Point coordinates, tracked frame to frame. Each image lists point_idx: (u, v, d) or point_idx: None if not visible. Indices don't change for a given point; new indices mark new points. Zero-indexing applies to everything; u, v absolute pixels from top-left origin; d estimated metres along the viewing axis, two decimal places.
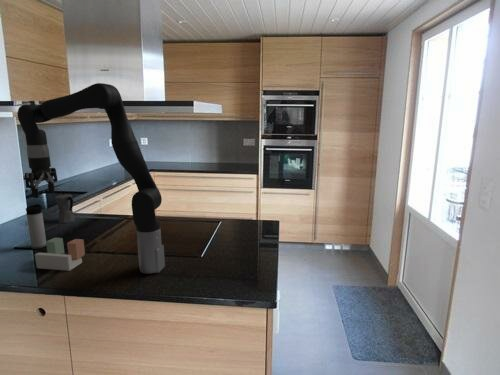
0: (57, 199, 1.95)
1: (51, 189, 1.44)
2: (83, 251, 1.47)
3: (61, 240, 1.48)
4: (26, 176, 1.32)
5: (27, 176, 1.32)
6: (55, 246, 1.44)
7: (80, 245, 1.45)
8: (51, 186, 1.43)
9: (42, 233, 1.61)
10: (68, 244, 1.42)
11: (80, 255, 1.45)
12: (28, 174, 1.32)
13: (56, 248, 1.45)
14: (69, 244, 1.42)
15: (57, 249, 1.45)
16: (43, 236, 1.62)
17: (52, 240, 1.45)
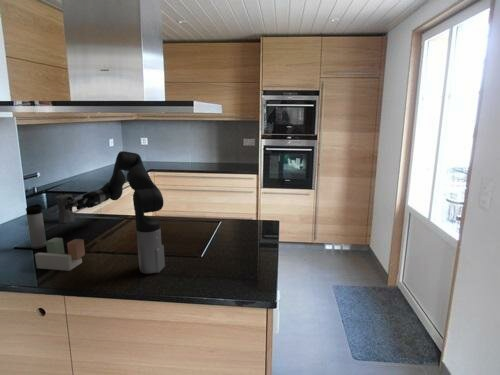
0: (57, 199, 1.95)
1: None
2: (83, 251, 1.47)
3: (61, 240, 1.48)
4: None
5: None
6: (55, 246, 1.44)
7: (80, 245, 1.45)
8: None
9: (42, 233, 1.61)
10: (68, 244, 1.42)
11: (80, 255, 1.45)
12: None
13: (56, 248, 1.45)
14: (69, 244, 1.42)
15: (57, 249, 1.45)
16: (43, 236, 1.62)
17: (52, 240, 1.45)
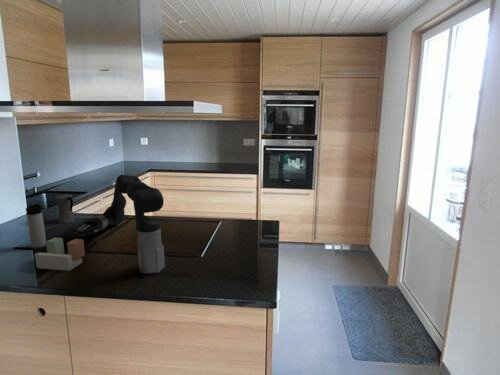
0: (57, 199, 1.95)
1: None
2: (83, 251, 1.47)
3: (61, 240, 1.48)
4: None
5: None
6: (55, 246, 1.44)
7: (80, 245, 1.45)
8: None
9: (42, 233, 1.61)
10: (68, 244, 1.42)
11: (80, 255, 1.45)
12: None
13: (56, 248, 1.45)
14: (69, 244, 1.42)
15: (57, 249, 1.45)
16: (43, 236, 1.62)
17: (52, 240, 1.45)
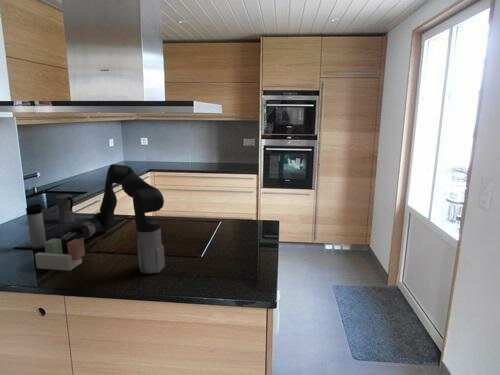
0: (57, 199, 1.95)
1: None
2: (83, 251, 1.47)
3: (59, 241, 1.46)
4: None
5: None
6: (54, 247, 1.43)
7: (80, 245, 1.45)
8: None
9: (42, 233, 1.61)
10: (68, 244, 1.42)
11: (80, 255, 1.45)
12: None
13: (54, 249, 1.44)
14: (69, 244, 1.42)
15: (55, 250, 1.44)
16: (43, 236, 1.62)
17: (50, 241, 1.44)
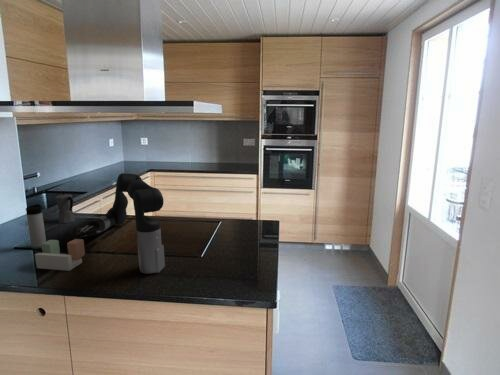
0: (57, 199, 1.95)
1: None
2: (83, 251, 1.47)
3: (57, 242, 1.45)
4: None
5: None
6: (51, 248, 1.42)
7: (80, 245, 1.45)
8: None
9: (42, 233, 1.61)
10: (68, 244, 1.42)
11: (80, 255, 1.45)
12: None
13: (52, 250, 1.42)
14: (69, 244, 1.42)
15: (52, 251, 1.43)
16: (43, 236, 1.62)
17: (48, 242, 1.43)
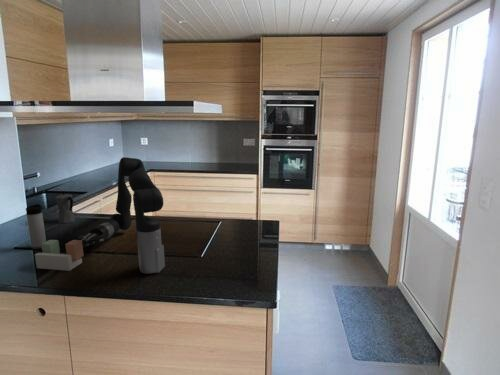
0: (57, 199, 1.95)
1: None
2: (81, 252, 1.46)
3: (57, 242, 1.45)
4: None
5: None
6: (51, 248, 1.42)
7: (78, 246, 1.44)
8: None
9: (42, 233, 1.61)
10: (67, 244, 1.41)
11: (78, 256, 1.44)
12: None
13: (52, 250, 1.42)
14: (67, 245, 1.41)
15: (52, 251, 1.43)
16: (43, 236, 1.62)
17: (48, 242, 1.43)
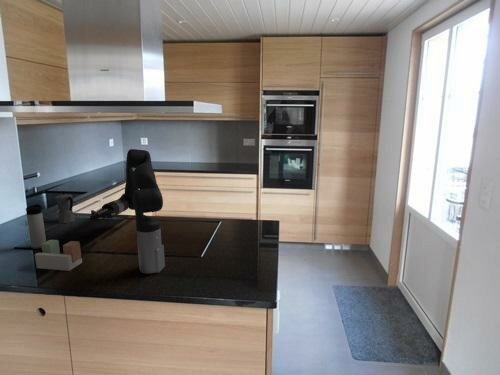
0: (57, 199, 1.95)
1: None
2: (79, 253, 1.44)
3: (57, 242, 1.45)
4: (91, 214, 1.63)
5: (91, 213, 1.63)
6: (51, 248, 1.42)
7: (76, 247, 1.42)
8: None
9: (42, 233, 1.61)
10: (64, 246, 1.40)
11: (76, 257, 1.42)
12: (91, 212, 1.64)
13: (52, 250, 1.42)
14: (65, 246, 1.40)
15: (52, 251, 1.43)
16: (43, 236, 1.62)
17: (48, 242, 1.43)
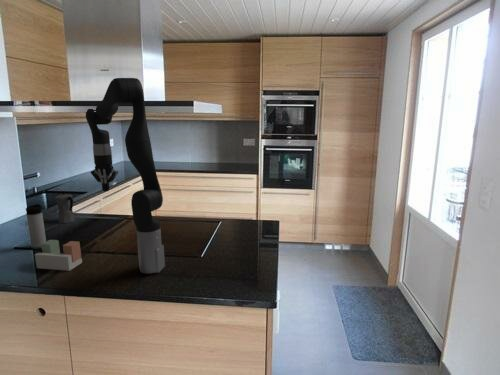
0: (57, 199, 1.95)
1: None
2: (79, 253, 1.44)
3: (57, 242, 1.45)
4: None
5: None
6: (51, 248, 1.42)
7: (76, 247, 1.42)
8: None
9: (42, 233, 1.61)
10: (64, 246, 1.40)
11: (76, 257, 1.42)
12: None
13: (52, 250, 1.42)
14: (65, 246, 1.40)
15: (52, 251, 1.43)
16: (43, 236, 1.62)
17: (48, 242, 1.43)
